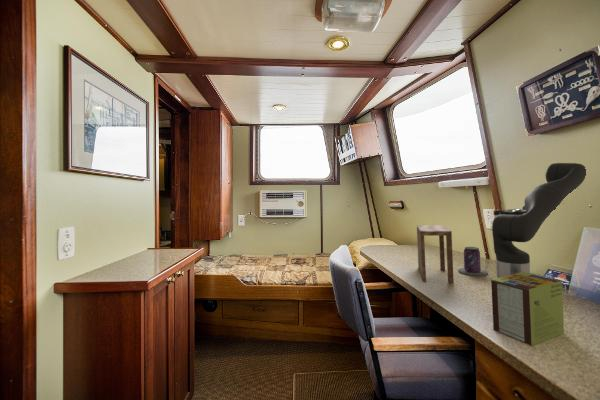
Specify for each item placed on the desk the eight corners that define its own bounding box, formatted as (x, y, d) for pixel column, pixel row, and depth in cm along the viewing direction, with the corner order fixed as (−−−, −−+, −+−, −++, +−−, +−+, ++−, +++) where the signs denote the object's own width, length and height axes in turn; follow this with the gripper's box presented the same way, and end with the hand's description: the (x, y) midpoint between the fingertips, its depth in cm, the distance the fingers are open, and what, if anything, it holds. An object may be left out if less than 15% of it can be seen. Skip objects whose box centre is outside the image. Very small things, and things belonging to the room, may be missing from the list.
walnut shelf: (444, 269, 149) (442, 225, 149) (453, 283, 126) (451, 231, 125) (418, 268, 154) (416, 225, 153) (422, 282, 130) (420, 231, 130)
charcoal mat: (487, 270, 143) (487, 269, 143) (487, 277, 132) (487, 276, 132) (459, 267, 150) (459, 266, 150) (456, 274, 140) (456, 272, 140)
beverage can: (461, 270, 143) (460, 247, 143) (470, 268, 146) (469, 246, 146) (475, 273, 137) (474, 249, 137) (483, 271, 140) (482, 248, 140)
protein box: (565, 333, 79) (562, 280, 79) (531, 346, 73) (529, 289, 73) (524, 319, 89) (522, 271, 89) (491, 329, 83) (489, 278, 83)
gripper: (529, 204, 139) (491, 205, 144) (543, 205, 125) (501, 206, 131) (530, 219, 139) (492, 219, 144) (544, 222, 125) (502, 222, 131)
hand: (496, 213), depth 137 cm, fingers open, 8 cm apart
